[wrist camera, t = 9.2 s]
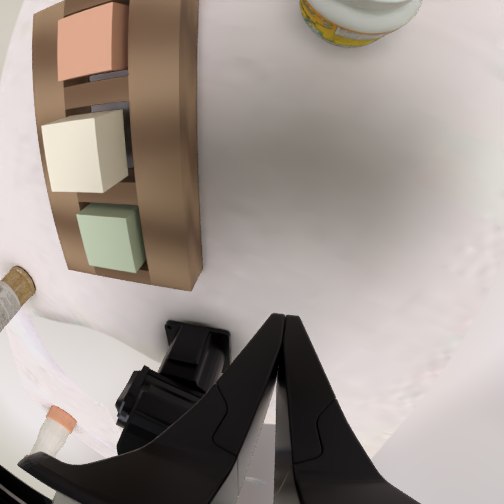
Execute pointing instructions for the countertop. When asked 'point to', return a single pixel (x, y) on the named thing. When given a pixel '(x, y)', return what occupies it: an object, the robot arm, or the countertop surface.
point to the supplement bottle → (357, 19)
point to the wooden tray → (135, 135)
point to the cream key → (86, 152)
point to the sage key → (112, 236)
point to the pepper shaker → (54, 432)
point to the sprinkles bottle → (14, 294)
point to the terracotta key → (93, 42)
